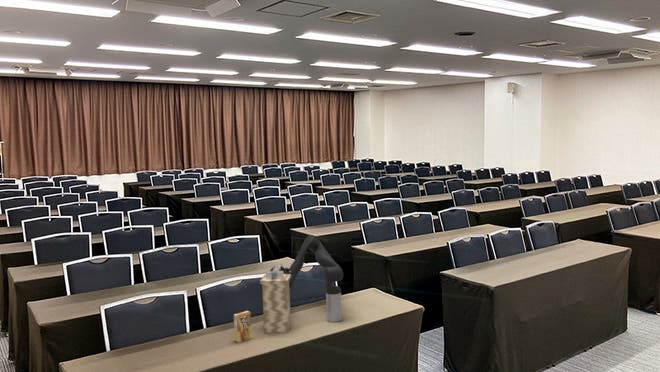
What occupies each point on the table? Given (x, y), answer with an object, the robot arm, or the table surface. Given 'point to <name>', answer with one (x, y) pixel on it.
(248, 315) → the candy box
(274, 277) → the toggle bar
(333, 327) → the table surface
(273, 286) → the pedestal
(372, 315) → the table surface
